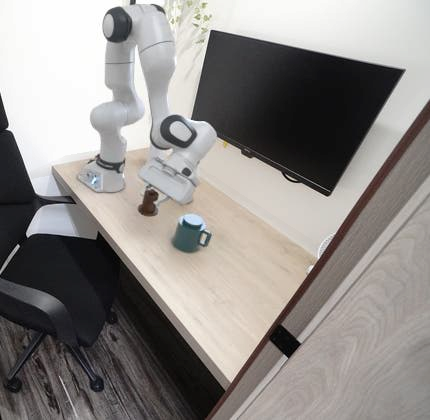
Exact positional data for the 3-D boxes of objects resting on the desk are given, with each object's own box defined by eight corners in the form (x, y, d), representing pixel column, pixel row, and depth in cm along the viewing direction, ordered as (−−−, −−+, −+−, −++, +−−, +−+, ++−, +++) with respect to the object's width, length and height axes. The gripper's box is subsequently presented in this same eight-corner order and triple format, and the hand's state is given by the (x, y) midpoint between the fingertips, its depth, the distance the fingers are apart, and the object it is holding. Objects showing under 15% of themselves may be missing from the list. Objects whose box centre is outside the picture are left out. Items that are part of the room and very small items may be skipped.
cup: (165, 170, 162) (172, 140, 153) (150, 172, 160) (157, 142, 151) (156, 163, 169) (163, 134, 159) (142, 164, 167) (148, 135, 157)
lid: (133, 210, 110) (137, 189, 105) (144, 202, 114) (149, 181, 109) (151, 219, 106) (156, 197, 101) (161, 210, 110) (167, 189, 105)
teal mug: (167, 243, 118) (175, 219, 111) (179, 232, 123) (187, 208, 116) (198, 260, 111) (208, 235, 104) (209, 248, 116) (219, 223, 110)
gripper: (150, 150, 110) (124, 182, 112) (198, 177, 96) (168, 213, 98) (157, 159, 115) (132, 189, 116) (204, 186, 100) (175, 220, 102)
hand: (148, 200), depth 107 cm, fingers closed on lid, 4 cm apart
